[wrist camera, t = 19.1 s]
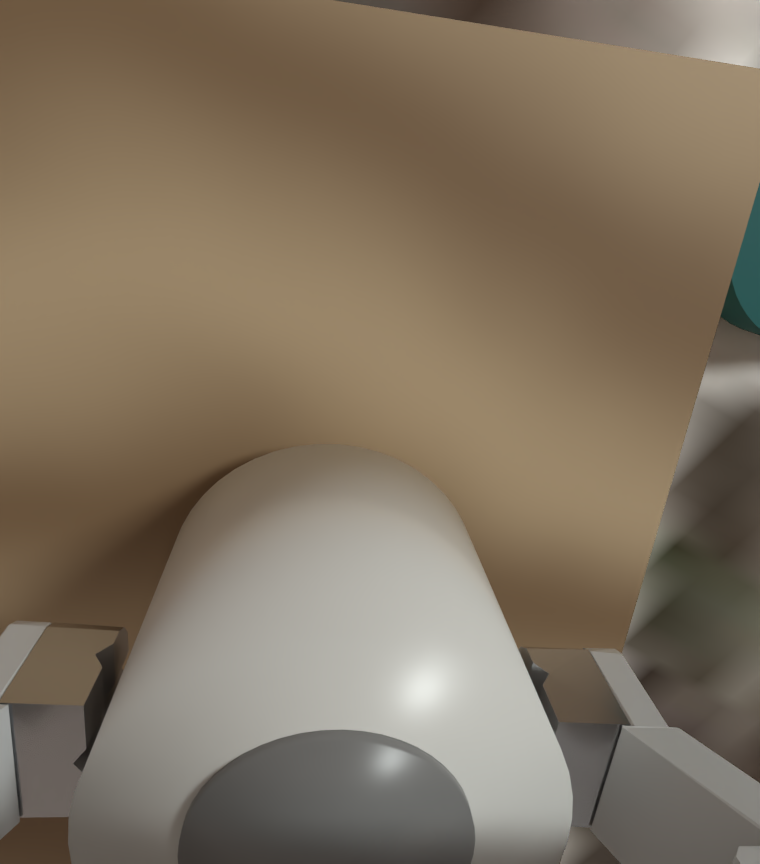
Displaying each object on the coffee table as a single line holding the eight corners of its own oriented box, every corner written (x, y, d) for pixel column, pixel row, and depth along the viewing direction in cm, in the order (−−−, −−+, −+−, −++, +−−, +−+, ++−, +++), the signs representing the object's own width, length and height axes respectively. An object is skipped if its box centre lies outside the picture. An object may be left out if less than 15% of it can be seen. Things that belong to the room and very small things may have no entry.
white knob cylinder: (451, 706, 13) (527, 1007, 8) (169, 700, 12) (76, 1023, 8) (497, 455, 11) (631, 655, 6) (169, 432, 11) (45, 637, 6)
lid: (541, 858, 17) (552, 889, 16) (9, 870, 15) (-6, 904, 15) (758, 81, 11) (791, 73, 10) (-98, -54, 9) (-135, -75, 8)
